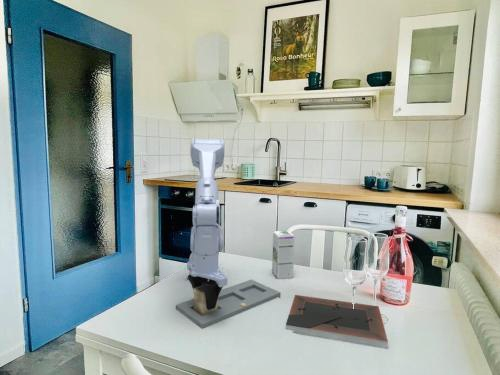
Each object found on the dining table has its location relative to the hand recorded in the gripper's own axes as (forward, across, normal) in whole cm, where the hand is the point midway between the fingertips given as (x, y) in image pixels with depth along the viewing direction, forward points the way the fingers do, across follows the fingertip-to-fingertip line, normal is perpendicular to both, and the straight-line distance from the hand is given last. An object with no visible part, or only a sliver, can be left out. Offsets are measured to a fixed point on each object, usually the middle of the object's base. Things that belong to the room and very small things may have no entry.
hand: (205, 305), depth 80 cm
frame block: (+2, 0, 0) cm, 2 cm away
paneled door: (+2, 0, +8) cm, 8 cm away
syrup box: (+2, -5, +34) cm, 34 cm away
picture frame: (+3, +23, +22) cm, 32 cm away
